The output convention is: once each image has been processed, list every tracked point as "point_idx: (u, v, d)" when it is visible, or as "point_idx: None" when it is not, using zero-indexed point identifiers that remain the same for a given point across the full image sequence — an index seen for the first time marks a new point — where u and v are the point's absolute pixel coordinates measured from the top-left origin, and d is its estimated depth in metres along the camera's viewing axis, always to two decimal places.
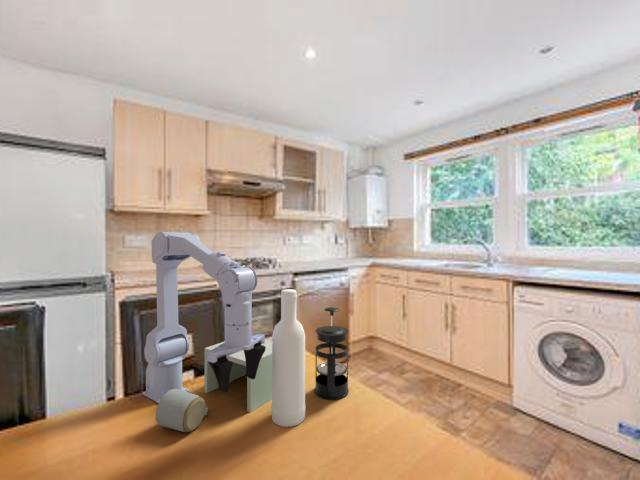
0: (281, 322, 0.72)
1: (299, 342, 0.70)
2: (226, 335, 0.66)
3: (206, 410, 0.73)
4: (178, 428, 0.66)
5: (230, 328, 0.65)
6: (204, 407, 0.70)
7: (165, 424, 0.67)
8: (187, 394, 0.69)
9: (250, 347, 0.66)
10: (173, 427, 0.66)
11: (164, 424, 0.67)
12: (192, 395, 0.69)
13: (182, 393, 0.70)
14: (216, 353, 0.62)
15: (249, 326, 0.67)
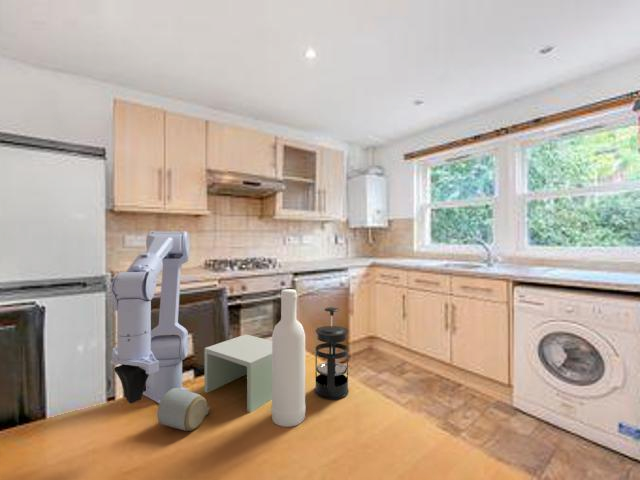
0: (281, 322, 0.72)
1: (299, 342, 0.70)
2: None
3: (207, 409, 0.73)
4: (180, 427, 0.66)
5: None
6: (205, 406, 0.71)
7: (167, 423, 0.67)
8: (189, 393, 0.70)
9: (111, 362, 0.58)
10: (175, 426, 0.67)
11: (166, 423, 0.67)
12: (193, 394, 0.70)
13: (184, 392, 0.70)
14: (113, 350, 0.64)
15: (121, 339, 0.59)
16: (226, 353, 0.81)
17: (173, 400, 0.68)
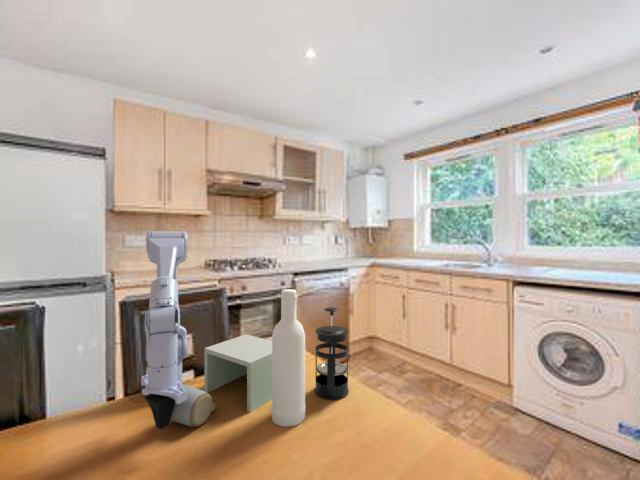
0: (281, 322, 0.72)
1: (299, 342, 0.70)
2: None
3: (213, 406, 0.74)
4: (185, 423, 0.67)
5: None
6: (211, 403, 0.72)
7: (173, 418, 0.68)
8: (194, 390, 0.71)
9: (143, 391, 0.63)
10: (181, 422, 0.68)
11: (172, 418, 0.69)
12: (199, 391, 0.71)
13: (190, 389, 0.71)
14: (142, 378, 0.69)
15: (151, 371, 0.64)
16: (226, 353, 0.81)
17: None
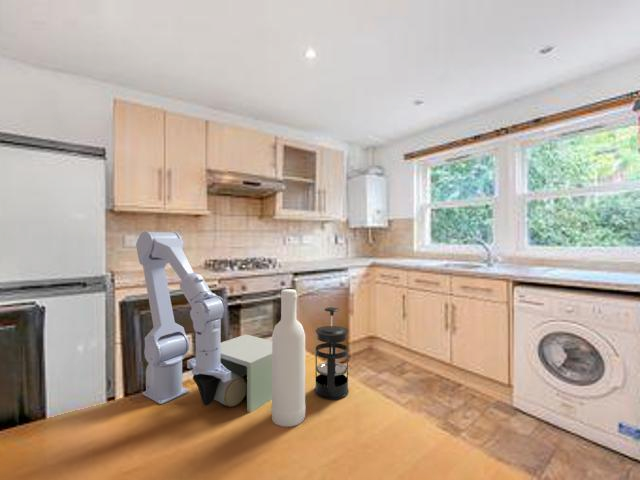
0: (281, 322, 0.72)
1: (299, 342, 0.70)
2: None
3: None
4: (221, 401, 0.76)
5: None
6: (245, 387, 0.79)
7: None
8: (231, 374, 0.80)
9: (193, 372, 0.72)
10: (218, 400, 0.77)
11: None
12: (235, 375, 0.79)
13: None
14: (188, 361, 0.78)
15: (200, 354, 0.73)
16: (226, 353, 0.81)
17: None
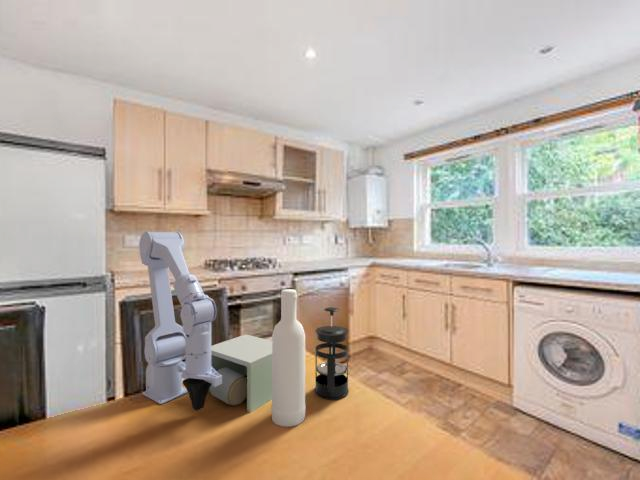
0: (281, 322, 0.72)
1: (299, 342, 0.70)
2: None
3: None
4: (224, 400, 0.77)
5: None
6: None
7: (216, 395, 0.79)
8: (234, 373, 0.80)
9: (182, 376, 0.70)
10: (221, 399, 0.78)
11: (215, 395, 0.79)
12: (238, 374, 0.80)
13: (231, 371, 0.81)
14: (178, 365, 0.76)
15: (190, 357, 0.71)
16: (226, 353, 0.81)
17: None
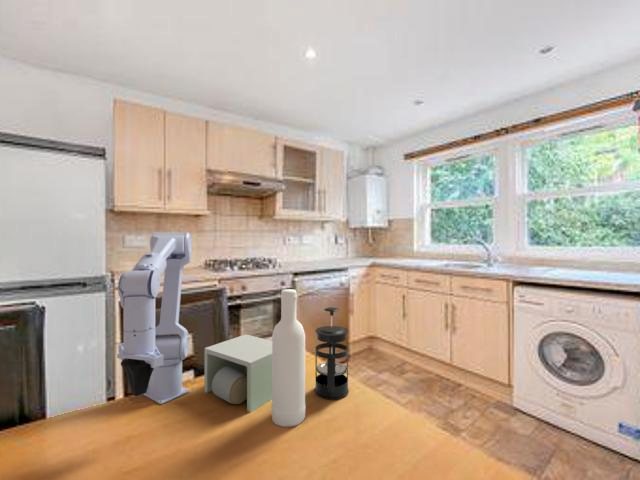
0: (281, 322, 0.72)
1: (299, 342, 0.70)
2: None
3: None
4: (226, 399, 0.77)
5: None
6: None
7: (218, 394, 0.79)
8: (236, 372, 0.81)
9: (118, 356, 0.61)
10: (223, 398, 0.78)
11: (217, 394, 0.80)
12: (240, 373, 0.80)
13: (233, 371, 0.81)
14: (119, 345, 0.67)
15: (127, 335, 0.62)
16: (226, 353, 0.81)
17: (223, 376, 0.80)
